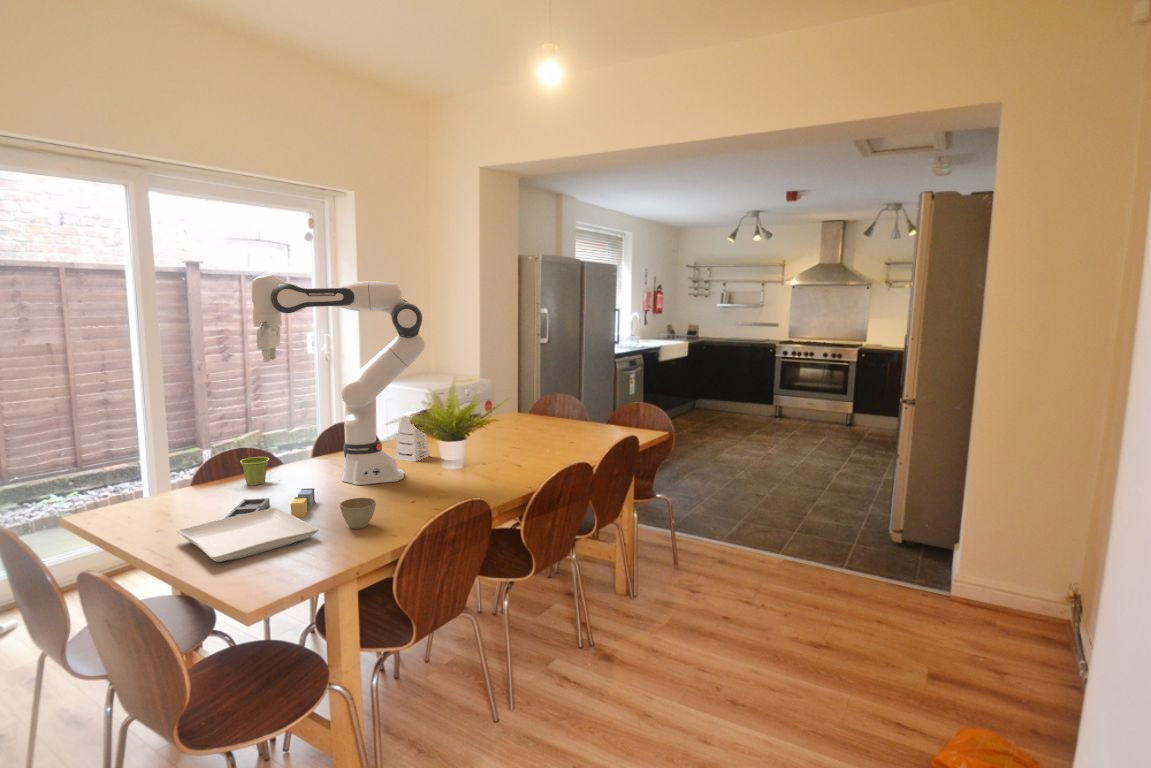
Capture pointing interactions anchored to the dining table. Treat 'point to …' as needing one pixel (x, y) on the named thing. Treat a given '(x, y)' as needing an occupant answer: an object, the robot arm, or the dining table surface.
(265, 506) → the grey flat frame
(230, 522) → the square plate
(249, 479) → the plant pot
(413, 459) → the grater
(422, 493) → the dining table surface
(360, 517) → the flower pot
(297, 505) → the yellow block
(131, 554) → the dining table surface
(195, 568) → the dining table surface
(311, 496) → the plug slate
